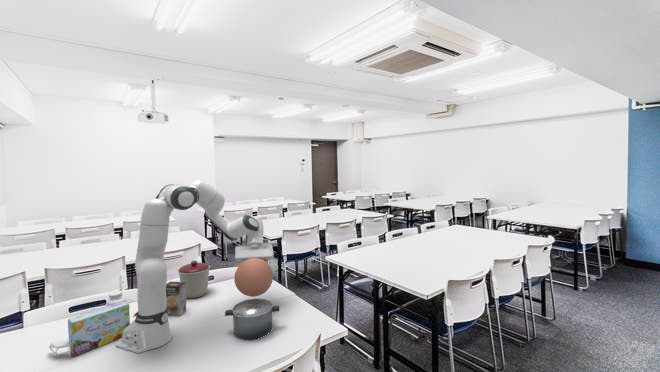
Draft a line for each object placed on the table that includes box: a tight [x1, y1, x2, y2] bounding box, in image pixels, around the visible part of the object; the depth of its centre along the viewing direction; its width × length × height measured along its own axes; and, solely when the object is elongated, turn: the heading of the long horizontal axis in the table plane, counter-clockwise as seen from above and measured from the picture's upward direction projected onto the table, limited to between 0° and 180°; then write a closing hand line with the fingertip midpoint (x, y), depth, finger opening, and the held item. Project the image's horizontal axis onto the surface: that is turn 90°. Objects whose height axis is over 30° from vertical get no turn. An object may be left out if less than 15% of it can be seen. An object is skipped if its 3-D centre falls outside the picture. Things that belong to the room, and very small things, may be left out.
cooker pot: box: [224, 298, 280, 341], centre depth 147 cm, size 25×19×11 cm
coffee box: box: [166, 281, 187, 317], centre depth 163 cm, size 9×6×16 cm
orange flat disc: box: [233, 258, 274, 298], centre depth 157 cm, size 19×19×3 cm
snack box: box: [67, 301, 131, 358], centre depth 136 cm, size 21×6×15 cm, turn 145°
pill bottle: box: [106, 290, 127, 307], centre depth 155 cm, size 8×8×15 cm
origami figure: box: [48, 338, 72, 358], centre depth 129 cm, size 12×8×5 cm
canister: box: [177, 260, 211, 299], centre depth 187 cm, size 18×18×21 cm
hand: (254, 267), depth 161 cm, fingers closed
